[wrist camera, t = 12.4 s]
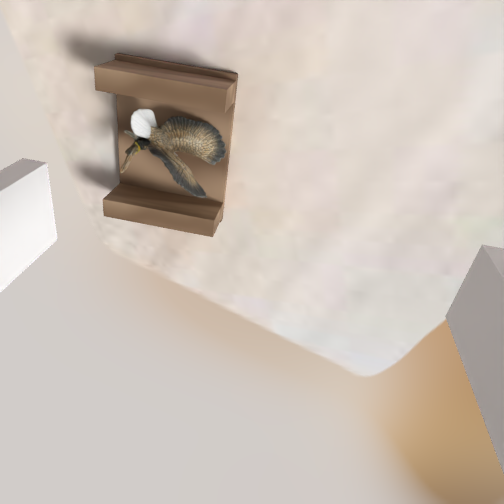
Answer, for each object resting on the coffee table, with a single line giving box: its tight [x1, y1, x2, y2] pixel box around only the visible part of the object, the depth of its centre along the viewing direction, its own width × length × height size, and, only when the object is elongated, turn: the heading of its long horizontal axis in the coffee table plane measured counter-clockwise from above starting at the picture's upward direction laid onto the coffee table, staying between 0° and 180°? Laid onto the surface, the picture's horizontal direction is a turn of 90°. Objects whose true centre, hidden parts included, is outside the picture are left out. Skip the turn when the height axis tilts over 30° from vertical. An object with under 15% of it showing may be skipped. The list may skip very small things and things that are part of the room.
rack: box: [94, 53, 238, 237], centre depth 43 cm, size 16×12×5 cm
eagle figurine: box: [120, 109, 227, 198], centre depth 42 cm, size 8×7×9 cm
